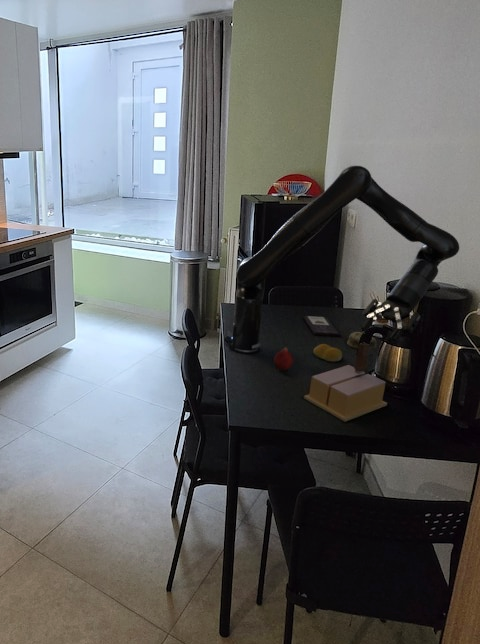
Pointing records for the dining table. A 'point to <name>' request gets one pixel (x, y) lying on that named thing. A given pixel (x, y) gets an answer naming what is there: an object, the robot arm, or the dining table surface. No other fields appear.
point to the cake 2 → (355, 339)
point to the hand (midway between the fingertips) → (376, 335)
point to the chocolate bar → (321, 326)
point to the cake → (346, 393)
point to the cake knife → (361, 359)
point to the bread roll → (328, 353)
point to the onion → (283, 359)
